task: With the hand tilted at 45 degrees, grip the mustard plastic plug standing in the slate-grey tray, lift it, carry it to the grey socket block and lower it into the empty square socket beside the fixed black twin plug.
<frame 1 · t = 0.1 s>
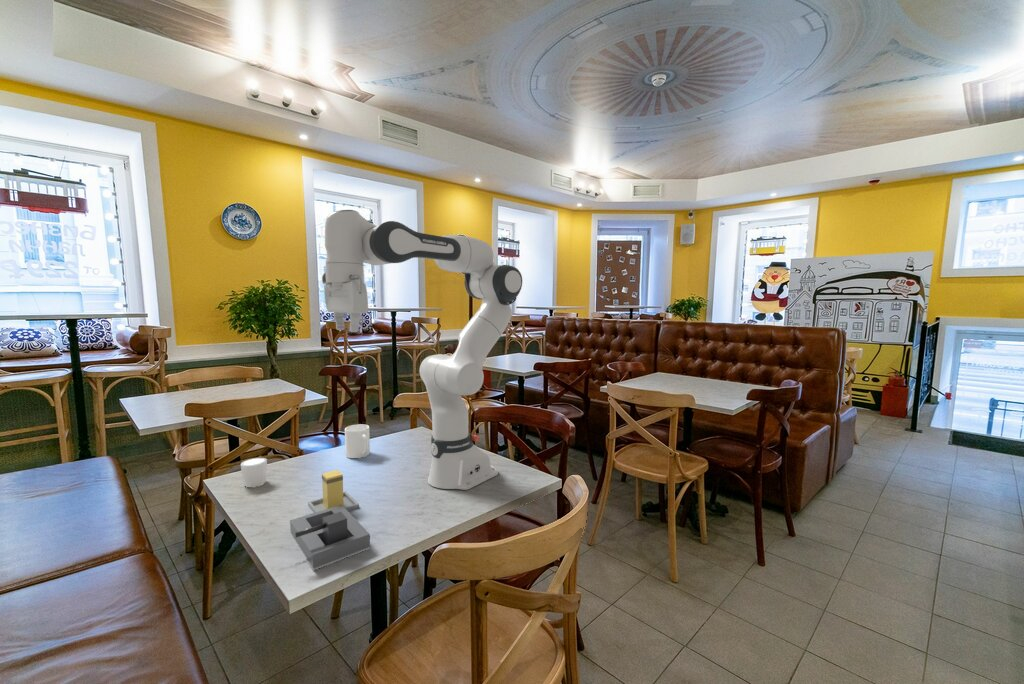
hand: (347, 331, 106), 48 cm above the table, tool pointing down, fingers open, 8 cm apart
plug: (333, 506, 112), resting on tray
white cylinder: (255, 484, 127), on the table
cup: (360, 456, 150), on the table
grey socket block: (329, 541, 97), on the table
tray: (333, 508, 112), on the table
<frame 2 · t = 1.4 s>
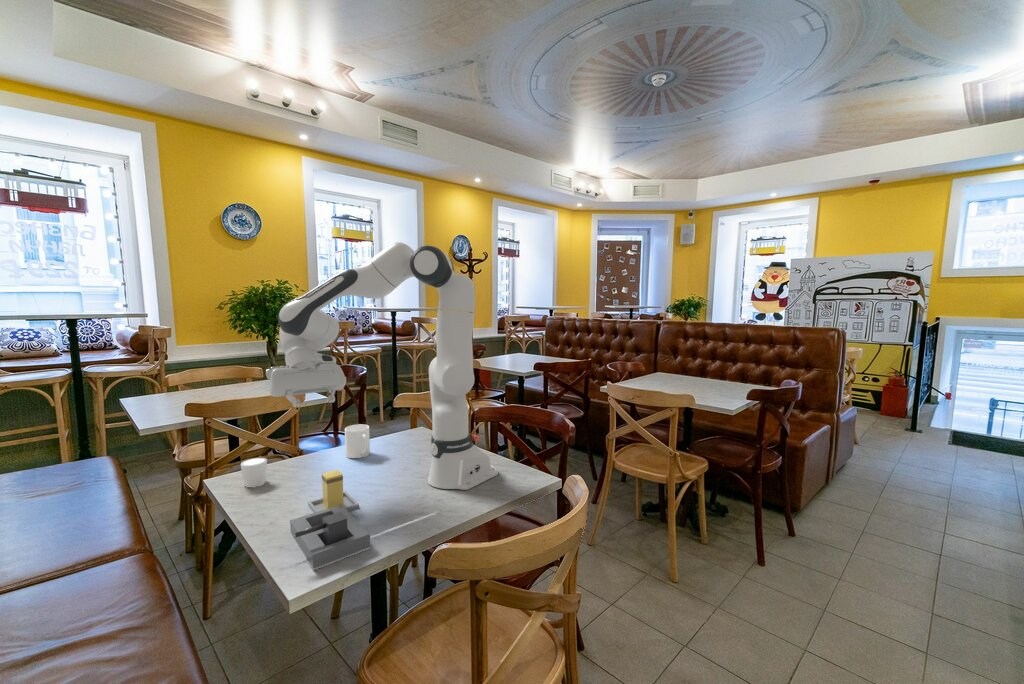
hand: (315, 403, 118), 26 cm above the table, tool tilted 45°, fingers open, 8 cm apart
nothing on the table moved.
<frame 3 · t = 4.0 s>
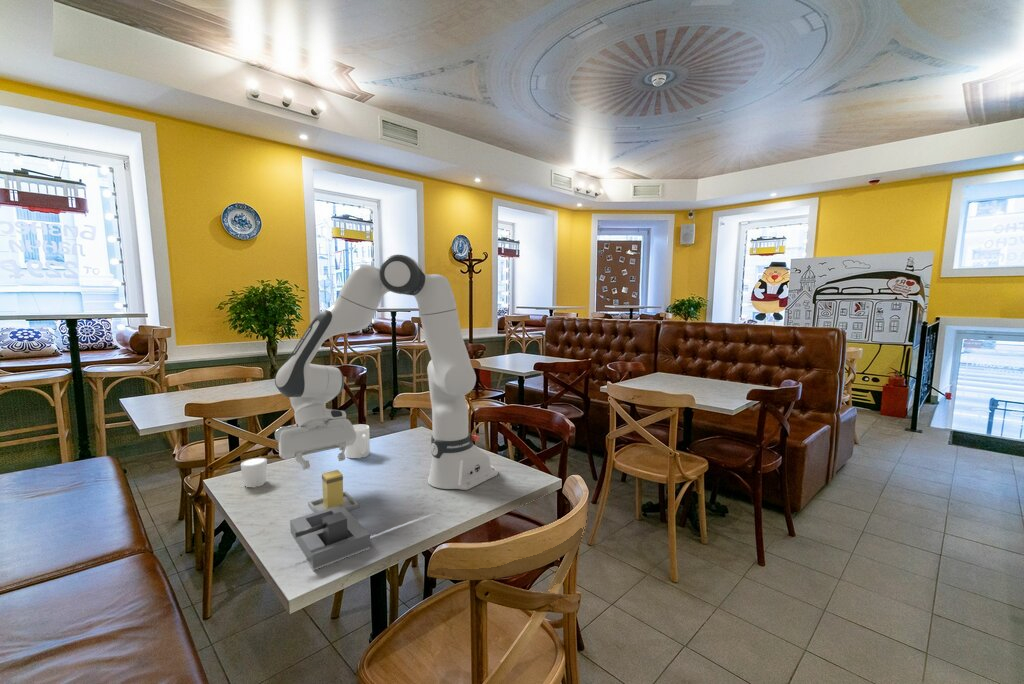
hand: (325, 464, 116), 10 cm above the table, tool tilted 45°, fingers open, 8 cm apart
nothing on the table moved.
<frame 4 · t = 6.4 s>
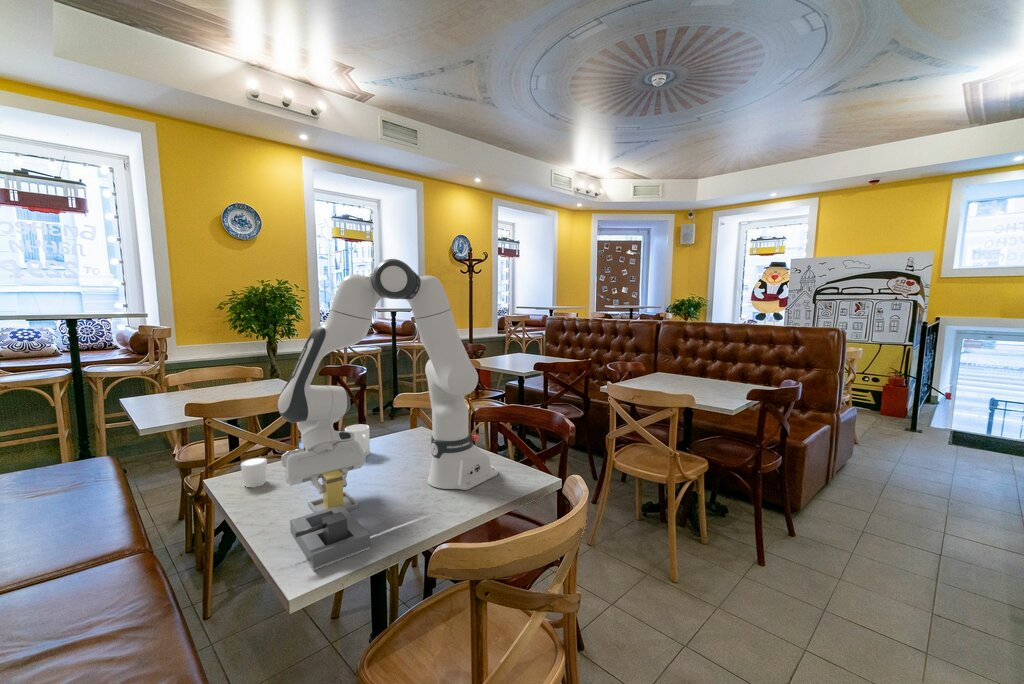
hand: (333, 489, 111), 5 cm above the table, tool tilted 45°, fingers closed on plug, 4 cm apart
plug: (333, 506, 112), resting on tray, touching gripper
everything else where it was.
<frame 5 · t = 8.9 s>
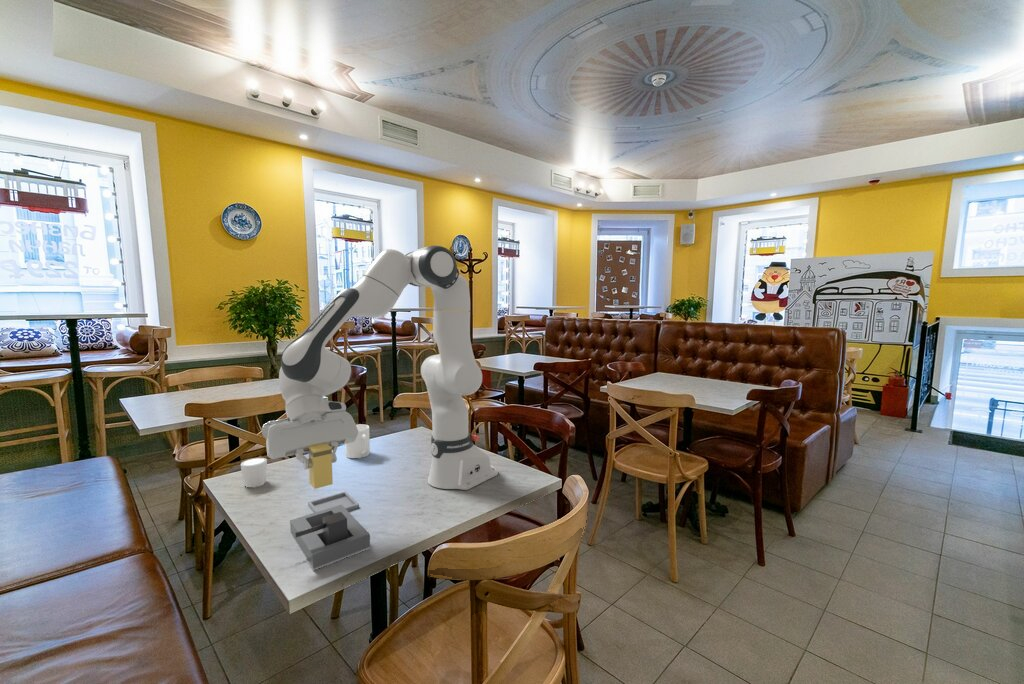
hand: (321, 464, 98), 17 cm above the table, tool tilted 45°, fingers closed on plug, 4 cm apart
plug: (321, 483, 99), point 12 cm above the table, touching gripper
everything else where it was.
when the fingers open (7 cm above the table, at t = 11.4 s): plug drops 2 cm, resting on grey socket block.
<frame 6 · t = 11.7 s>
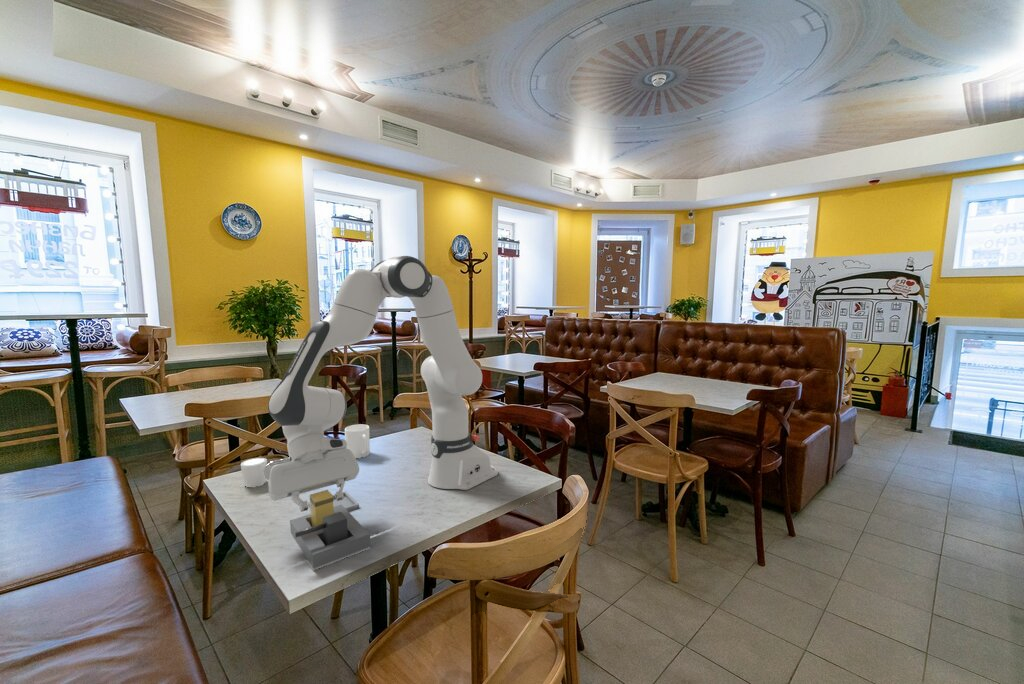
hand: (322, 504, 99), 7 cm above the table, tool tilted 45°, fingers open, 7 cm apart
plug: (323, 530, 100), point 1 cm above the table, touching grey socket block
everything else where it was.
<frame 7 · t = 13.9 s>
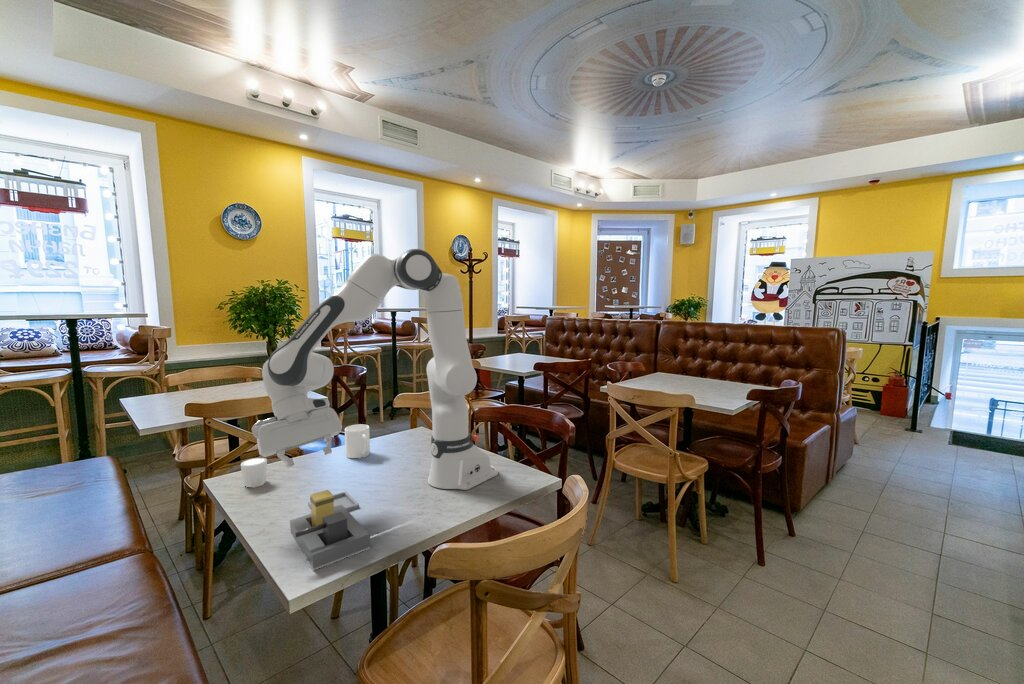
hand: (310, 459, 108), 14 cm above the table, tool tilted 35°, fingers open, 8 cm apart
nothing on the table moved.
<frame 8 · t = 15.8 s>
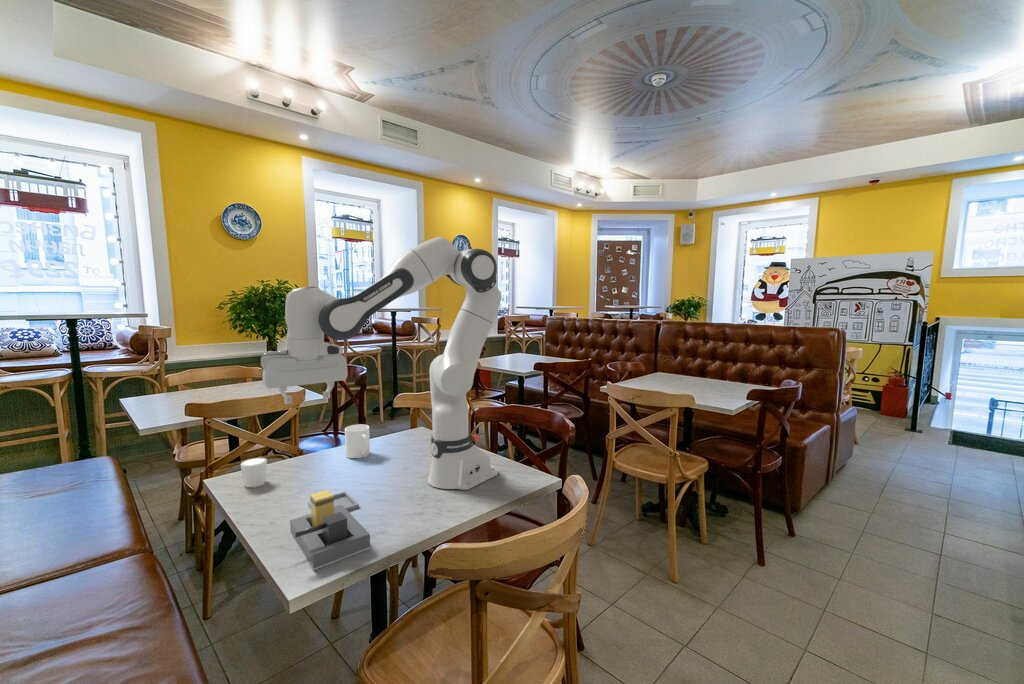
hand: (307, 400, 111), 29 cm above the table, tool pointing down, fingers open, 8 cm apart
nothing on the table moved.
at the end: plug 0.1 cm from the target spot on the grey socket block, point 0.5 cm above the grey socket block's base; plug tilted 0°; the gripper is holding nothing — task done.
